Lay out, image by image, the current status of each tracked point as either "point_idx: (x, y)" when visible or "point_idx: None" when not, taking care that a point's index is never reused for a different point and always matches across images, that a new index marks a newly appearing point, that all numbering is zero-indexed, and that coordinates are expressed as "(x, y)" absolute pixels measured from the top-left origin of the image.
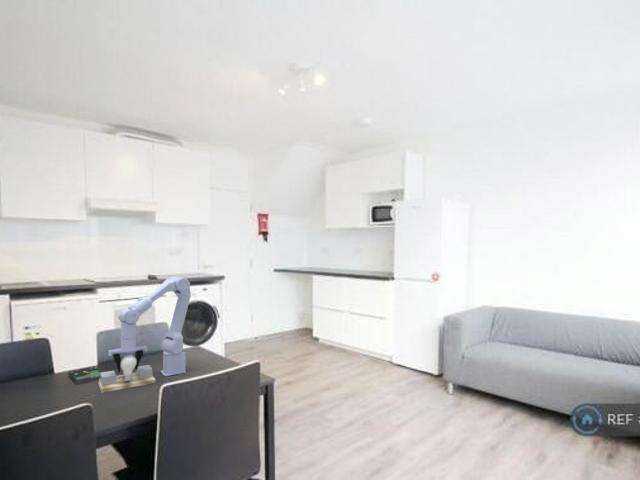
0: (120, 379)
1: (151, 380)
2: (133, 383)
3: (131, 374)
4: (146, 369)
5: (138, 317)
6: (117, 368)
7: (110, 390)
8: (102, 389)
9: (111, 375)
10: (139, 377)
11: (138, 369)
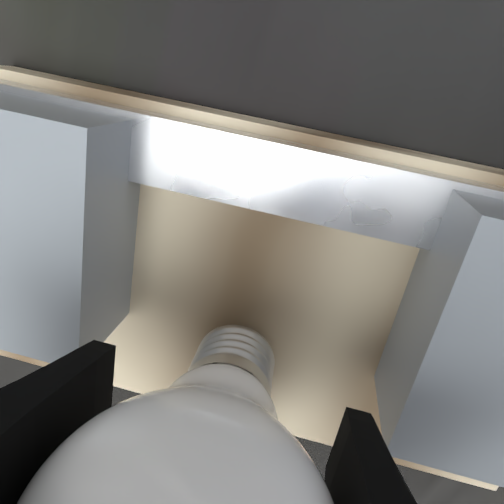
0: (205, 213)
1: (452, 474)
2: None
3: (349, 223)
4: (498, 461)
5: None
6: (61, 364)
7: None
8: (4, 354)
9: (26, 340)
10: (381, 371)
11: (422, 355)
